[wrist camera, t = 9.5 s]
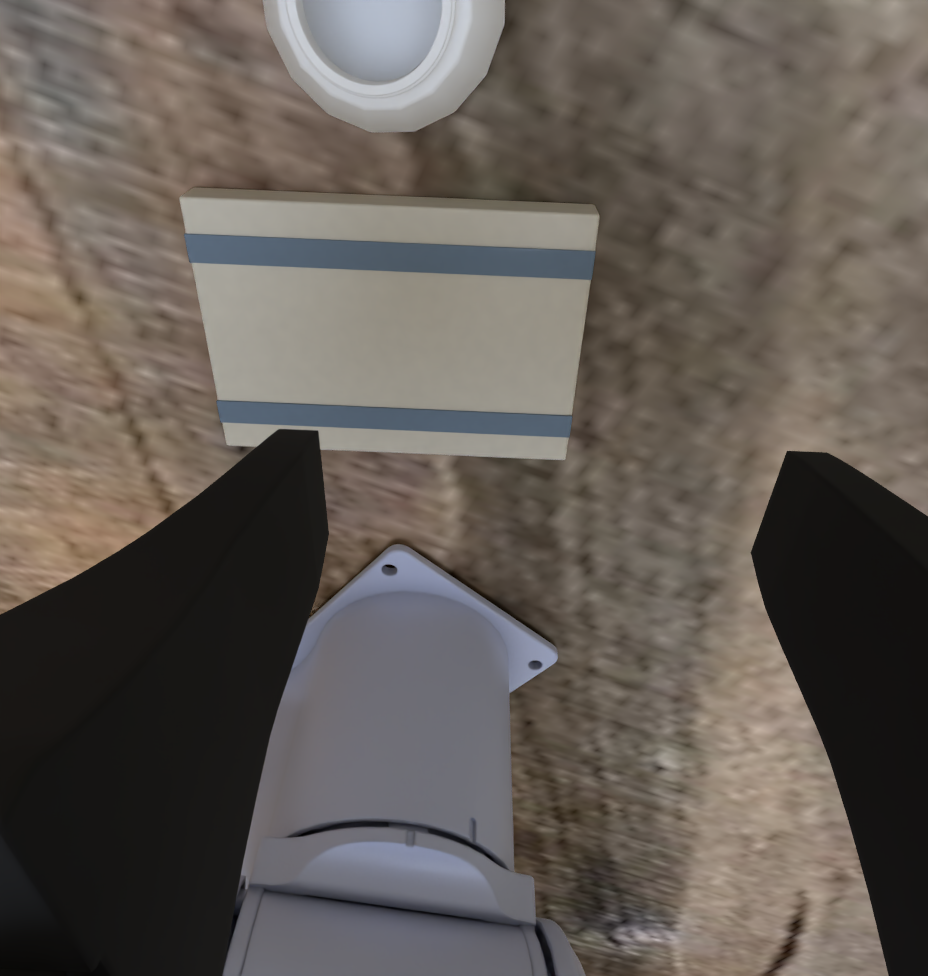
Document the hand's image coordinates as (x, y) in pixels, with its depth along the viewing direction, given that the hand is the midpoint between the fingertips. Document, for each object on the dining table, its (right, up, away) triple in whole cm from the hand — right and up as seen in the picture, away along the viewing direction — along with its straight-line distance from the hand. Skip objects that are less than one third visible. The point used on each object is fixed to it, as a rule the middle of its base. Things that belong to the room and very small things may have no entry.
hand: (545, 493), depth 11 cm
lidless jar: (-3, +11, +4) cm, 12 cm away
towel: (-3, +4, +8) cm, 10 cm away
